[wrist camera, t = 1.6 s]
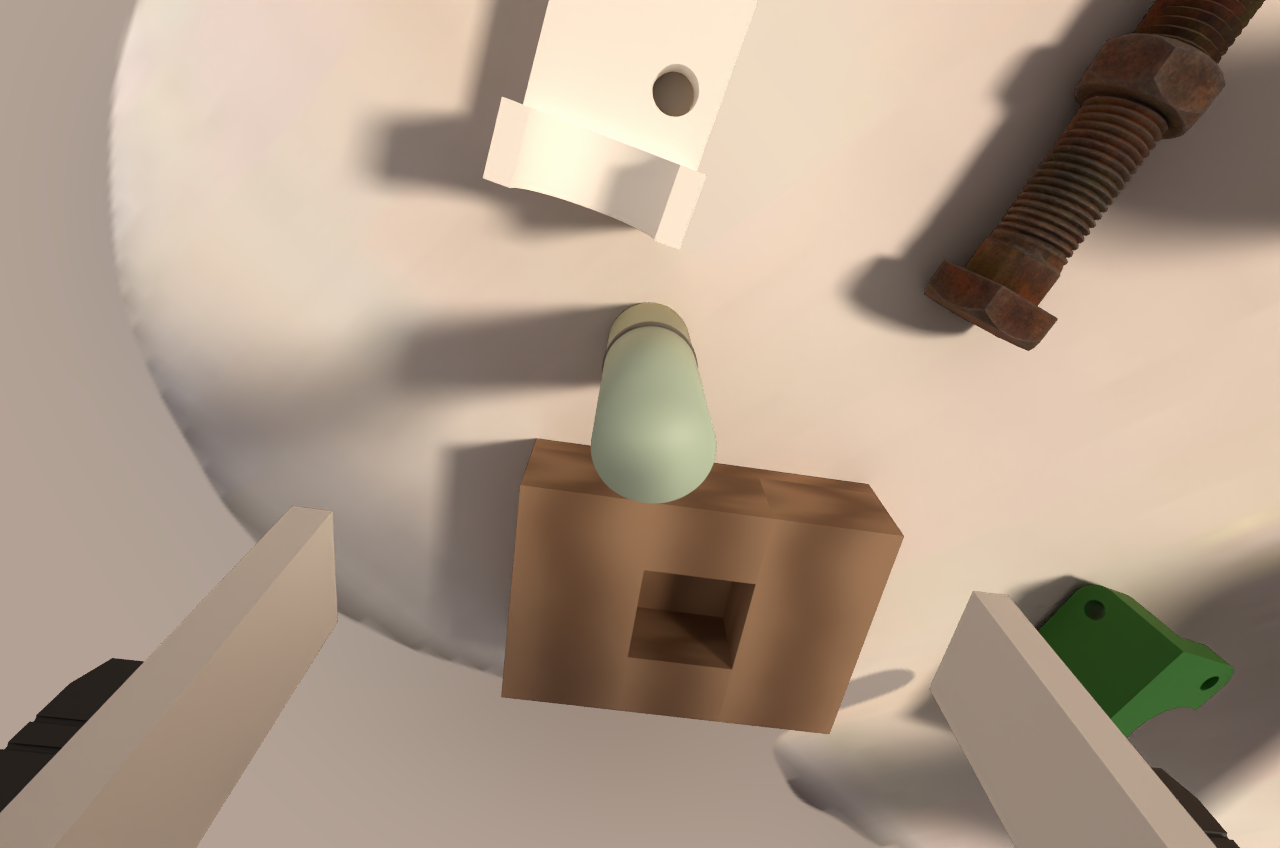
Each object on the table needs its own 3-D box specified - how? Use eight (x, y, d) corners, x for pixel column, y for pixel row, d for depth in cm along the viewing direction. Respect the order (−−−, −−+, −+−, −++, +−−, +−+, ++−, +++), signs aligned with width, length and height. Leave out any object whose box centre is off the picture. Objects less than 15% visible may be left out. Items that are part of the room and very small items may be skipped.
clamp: (1010, 653, 45) (1068, 801, 39) (953, 639, 42) (1006, 795, 37) (1192, 587, 37) (1298, 760, 31) (1134, 565, 34) (1238, 748, 29)
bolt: (1166, 4, 27) (948, 312, 32) (1135, -76, 24) (897, 278, 29) (1334, 14, 23) (1054, 366, 28) (1322, -81, 20) (1009, 334, 25)
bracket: (669, 225, 29) (679, 249, 22) (520, 170, 28) (482, 177, 21) (787, -107, 24) (847, -208, 17) (612, -187, 23) (602, -327, 17)
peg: (697, 308, 31) (730, 398, 20) (682, 387, 32) (704, 512, 21) (613, 295, 30) (597, 379, 19) (602, 376, 32) (582, 496, 21)
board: (868, 484, 34) (904, 536, 30) (807, 666, 39) (829, 734, 35) (536, 438, 33) (520, 485, 29) (517, 631, 38) (501, 697, 34)
